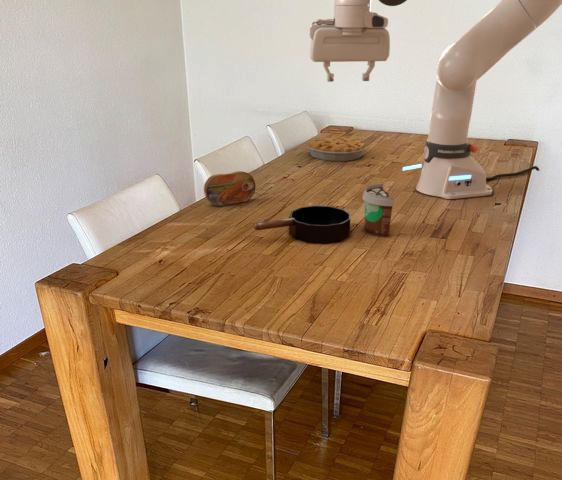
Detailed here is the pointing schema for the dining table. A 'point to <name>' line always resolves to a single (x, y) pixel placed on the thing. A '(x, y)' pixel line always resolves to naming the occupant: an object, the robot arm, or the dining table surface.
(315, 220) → the pan
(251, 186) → the tin
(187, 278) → the dining table surface
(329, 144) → the pie
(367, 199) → the food container
